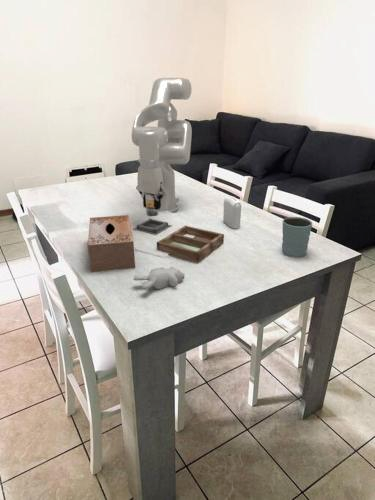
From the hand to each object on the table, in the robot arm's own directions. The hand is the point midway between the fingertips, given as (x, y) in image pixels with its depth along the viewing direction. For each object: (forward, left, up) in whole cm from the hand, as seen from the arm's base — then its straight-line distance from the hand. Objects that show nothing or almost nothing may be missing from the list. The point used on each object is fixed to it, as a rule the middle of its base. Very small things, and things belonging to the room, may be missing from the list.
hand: (152, 207), depth 150 cm
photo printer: (-21, +26, -10) cm, 35 cm away
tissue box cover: (+27, +1, -10) cm, 29 cm away
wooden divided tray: (+8, +23, -10) cm, 26 cm away
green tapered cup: (-8, +57, -10) cm, 59 cm away
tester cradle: (+1, 0, -10) cm, 10 cm away
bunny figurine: (+36, +29, -10) cm, 47 cm away
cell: (0, 0, -3) cm, 3 cm away
